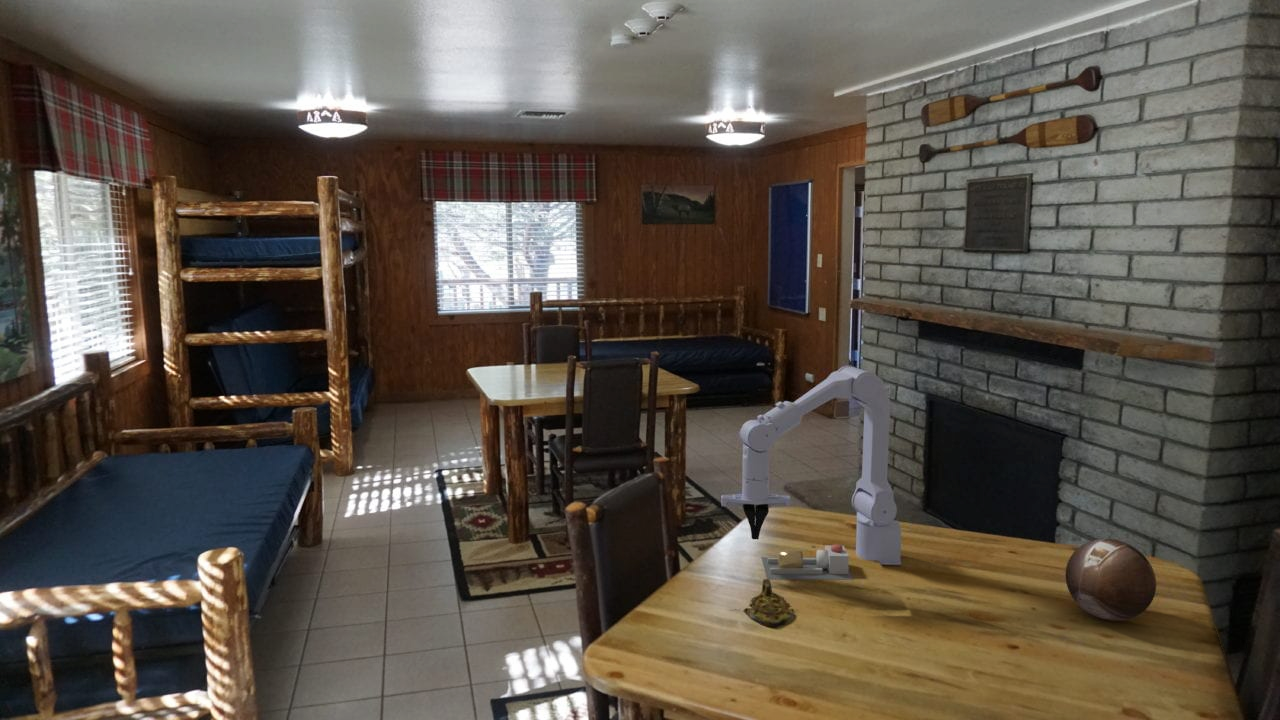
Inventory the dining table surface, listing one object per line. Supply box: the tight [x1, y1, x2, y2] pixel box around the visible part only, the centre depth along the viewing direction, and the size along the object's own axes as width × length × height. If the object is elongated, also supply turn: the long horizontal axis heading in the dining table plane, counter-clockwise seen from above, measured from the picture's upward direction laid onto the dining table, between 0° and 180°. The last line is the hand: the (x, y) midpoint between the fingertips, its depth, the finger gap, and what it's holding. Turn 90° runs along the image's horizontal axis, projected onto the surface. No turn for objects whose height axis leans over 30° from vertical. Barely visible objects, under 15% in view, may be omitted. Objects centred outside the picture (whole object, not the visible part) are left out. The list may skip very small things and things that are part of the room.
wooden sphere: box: [1065, 538, 1157, 622], centre depth 161 cm, size 15×15×15 cm
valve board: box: [761, 543, 854, 581], centre depth 183 cm, size 18×12×6 cm, turn 87°
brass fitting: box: [777, 550, 804, 568], centre depth 183 cm, size 5×4×4 cm
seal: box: [744, 578, 795, 628], centre depth 166 cm, size 9×5×15 cm
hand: (755, 537), depth 183 cm, fingers closed
